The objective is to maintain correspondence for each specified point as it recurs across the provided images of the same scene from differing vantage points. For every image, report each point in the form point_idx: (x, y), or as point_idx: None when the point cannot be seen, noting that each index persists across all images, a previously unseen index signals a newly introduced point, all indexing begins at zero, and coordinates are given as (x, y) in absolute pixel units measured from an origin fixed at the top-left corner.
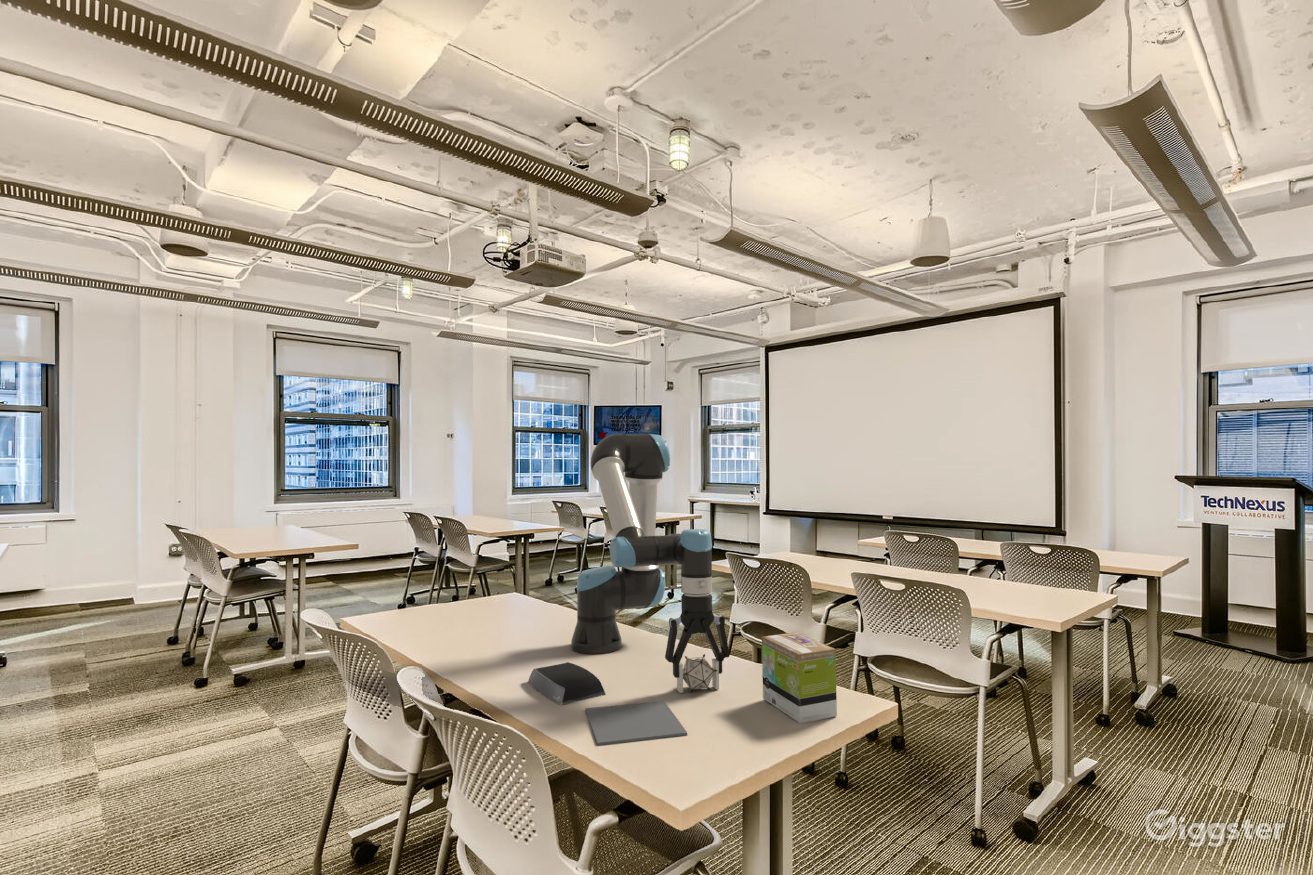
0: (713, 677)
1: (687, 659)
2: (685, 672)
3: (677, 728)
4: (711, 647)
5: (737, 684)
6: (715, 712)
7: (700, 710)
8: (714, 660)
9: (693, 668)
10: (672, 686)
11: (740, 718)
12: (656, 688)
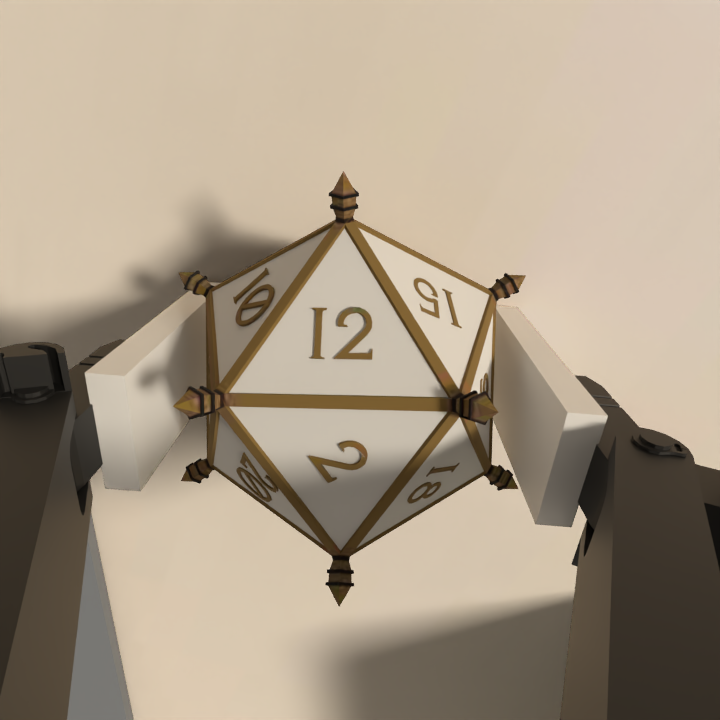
0: (504, 361)
1: (221, 408)
2: (209, 419)
3: (99, 715)
4: (598, 572)
5: (699, 320)
6: (320, 624)
7: (257, 588)
8: (548, 487)
9: (263, 504)
10: (187, 182)
11: (399, 694)
12: (47, 183)
